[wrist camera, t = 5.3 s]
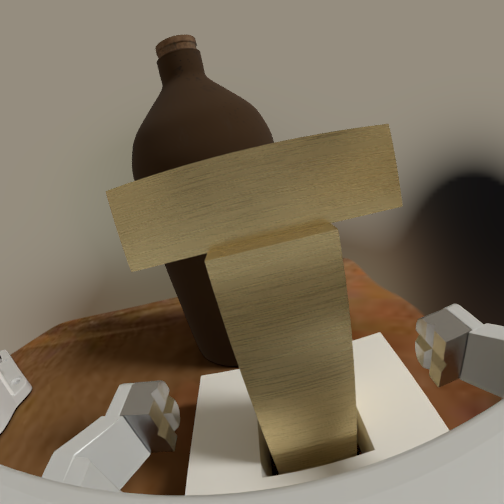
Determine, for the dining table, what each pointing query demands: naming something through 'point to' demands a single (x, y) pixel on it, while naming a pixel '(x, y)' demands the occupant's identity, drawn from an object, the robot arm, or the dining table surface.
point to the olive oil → (190, 151)
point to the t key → (274, 270)
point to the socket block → (260, 471)
